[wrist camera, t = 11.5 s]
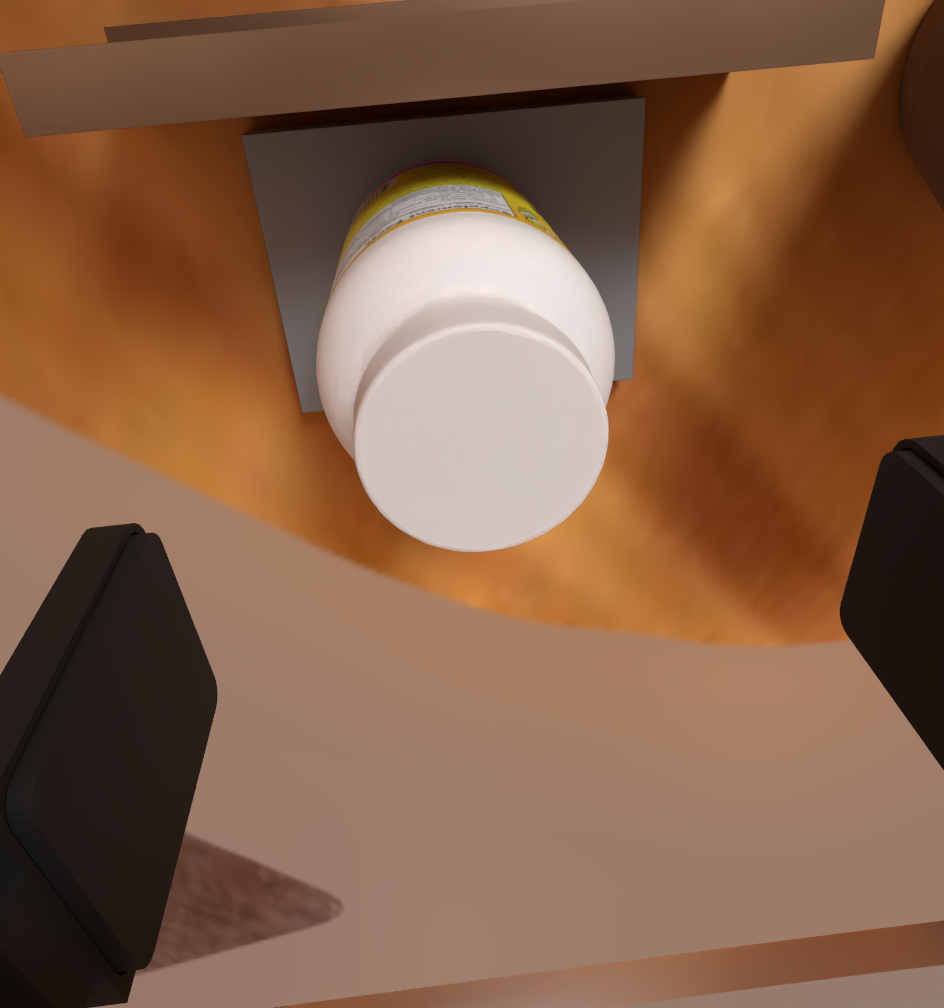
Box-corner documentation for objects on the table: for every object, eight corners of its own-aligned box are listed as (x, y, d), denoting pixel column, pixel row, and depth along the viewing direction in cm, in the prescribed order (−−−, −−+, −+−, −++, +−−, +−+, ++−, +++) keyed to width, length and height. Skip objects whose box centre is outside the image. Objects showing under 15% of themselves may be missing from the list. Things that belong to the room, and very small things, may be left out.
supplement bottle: (548, 351, 26) (652, 578, 15) (361, 371, 26) (332, 614, 15) (544, 142, 22) (677, 245, 12) (326, 163, 22) (255, 287, 11)
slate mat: (248, 130, 23) (241, 135, 22) (635, 94, 23) (645, 97, 22) (306, 399, 28) (302, 412, 27) (624, 366, 28) (632, 378, 27)
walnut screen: (117, 27, 21) (-16, 25, 14) (741, -29, 22) (895, -55, 15) (144, 121, 22) (34, 161, 16) (731, 67, 23) (869, 82, 16)
